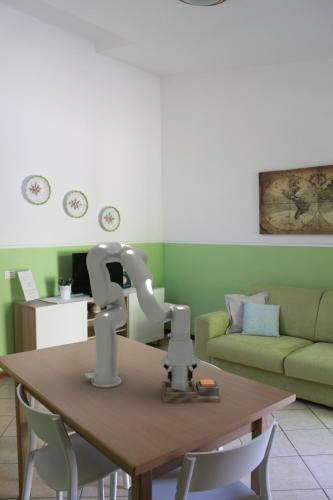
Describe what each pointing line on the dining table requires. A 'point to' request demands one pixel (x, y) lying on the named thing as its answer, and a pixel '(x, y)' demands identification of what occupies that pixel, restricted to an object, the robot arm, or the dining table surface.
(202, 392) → the tray
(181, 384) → the skincare box
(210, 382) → the button
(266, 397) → the dining table surface
